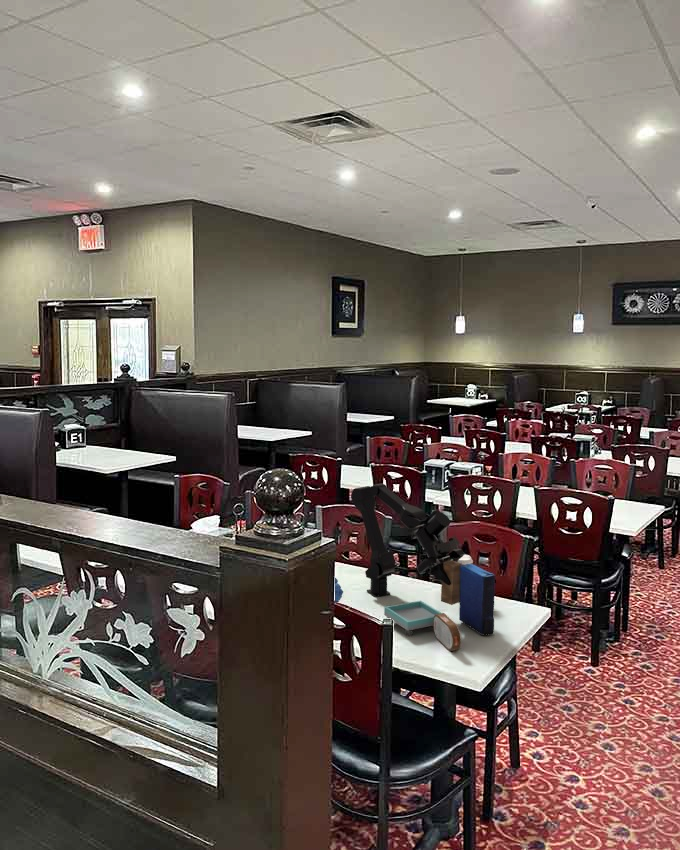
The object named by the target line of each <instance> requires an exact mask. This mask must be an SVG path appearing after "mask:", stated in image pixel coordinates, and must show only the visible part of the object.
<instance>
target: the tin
mask: <svg viewBox="0 0 680 850" xmlns="http://www.w3.org/2000/svg"><path fill="white" fill-rule="evenodd" d="M433 620H434V621H433V623H434V625H433V632H434V635H435V637H436V640H437V641H439V642H440V644H441V645H443V646H444V648H446V650H448V652H449V651H450V652H451V651H459V650H460V648H461V644H462V638H461V632H460V629H459V627H458V625H457V623H456V622H455V621H454V620H452V618H450V617H449V616H448V615H447V614H446V613H444V612H441V614H436V615H435V616H434V618H433Z"/></svg>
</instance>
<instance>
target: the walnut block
mask: <svg viewBox="0 0 680 850" xmlns="http://www.w3.org/2000/svg"><path fill="white" fill-rule="evenodd" d="M461 565H462V563H459V562H455V561H452V560H450V561H447V562H444V563H443V568H444V570H445V572H446V574H447V576H448V578H449V580H450V582H451V585H447V584H446V583H444V582H443V581H441V586H440V587H441V590H440V592H441V593H440V602H441V603H445V604H448V605H451V606H453V605H456V604H458V603H459V604H460V566H461Z"/></svg>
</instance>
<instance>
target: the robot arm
mask: <svg viewBox="0 0 680 850" xmlns="http://www.w3.org/2000/svg"><path fill="white" fill-rule="evenodd" d="M350 498H351V501H352V503H353V505H354V507H355V508H356V510H358V512H360V514H361V518H362V521H363V525H364V529H365V531H366V535H367V538H368V539H367V540H368V542H369V545H370V549H371V554H370V559H369V560H370V561H369V562H370V566H369V567H368V568H367V569H366V570H365V577H366V578H367V579H370V588H369V589H366V592H367V593H368V594H370V595H371V596H374V597H376V598H377V597H381V596H388V595H391V592H389V591H388V577H390V576H392V575H393V572H394V570H395V568H396V562H397V561H396V559H395V557H394V552H393V550H388V549H387V548H386V546H385V542H384V539H383V536H382V531H381V528H380V525H379V521H378V519H377V514H376V511H375V507H376V501H377V500H376V499H379V500H380V501H381V502H382V503H384V504H385V505H386V506H388V507H389V508H390V509H391V510H392V511H393V512H395V513H396V514H397V515H398V516H399V520H400V521H401V523H402V524H403V525H404V527H406V528H407V529H414V530H412V531H411V536H410V538H411V540H414V539H417V541H418V542H419V544H420V545H421V547H422V548H423V550H422V551H421V552H422V554H426V556H427V557H426V558H424V559H423V560H422V561H421V562H420V563H418V564H417V571H418V573H419V575H421V574H425V573H427V575H431V576H433V577H434V578H437V579H438V580H440V581H441V582H442V581H443V582H444V583H446V584H447V585H451V582H450V580H449V578H448V576H447V574H446V572H445V570H444V568H443V563H444V562H447V561H450V560H452V561H455V562H458V560H459V559H460V558H461V557H463V556H464V555H466V553H465V552H464V551H463V549H461V548H459V546H460V541H459V540H458V538H457V537H456V536H451V537H448V541H443V540H442V539H438V538H437V536H439V535H441V533H442V532H444V531H445V530H446V529H447V528H448V527H449V526H451V520H450V518H449V516H447V514H445V513H443V512H441V511H440V509H434V510H433V511H432V512H431V514H428V513H426V512H425V511H424V510H423V509H421V508H419V507H417V506H415V505H413V504H412V505H411V504H409V503H407V502H406V501H405V500H404V499H402V498H401V497H400V496H399V495H397V494H396V493H394V491H392V490H390V489H389V488H388V487H387V485H386V484H384V483H378V484H377V483H376V484H373V485H372V486H369V485H365V486H361V487H360V486H359V487H356V488H354V489H352V491H351V493H350ZM416 528H417V529H416ZM427 569H428V571H427Z"/></svg>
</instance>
